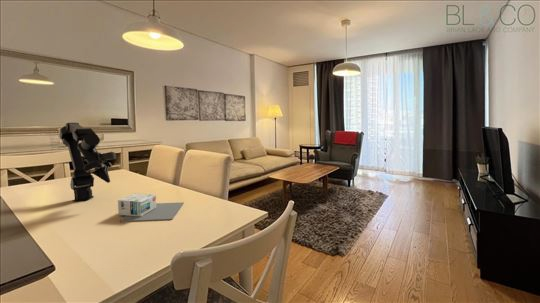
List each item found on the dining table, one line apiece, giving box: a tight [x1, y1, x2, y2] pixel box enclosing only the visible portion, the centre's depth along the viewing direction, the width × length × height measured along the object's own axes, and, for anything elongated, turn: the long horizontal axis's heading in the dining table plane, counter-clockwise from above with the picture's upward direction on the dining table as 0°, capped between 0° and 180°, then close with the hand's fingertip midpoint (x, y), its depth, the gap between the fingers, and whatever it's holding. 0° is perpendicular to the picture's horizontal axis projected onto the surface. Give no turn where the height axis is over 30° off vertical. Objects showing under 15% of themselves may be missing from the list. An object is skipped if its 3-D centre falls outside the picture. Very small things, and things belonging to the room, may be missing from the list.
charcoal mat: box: [119, 201, 185, 223], centre depth 109 cm, size 20×20×1 cm
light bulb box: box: [117, 192, 157, 217], centre depth 108 cm, size 11×7×11 cm
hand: (109, 182), depth 115 cm, fingers closed
